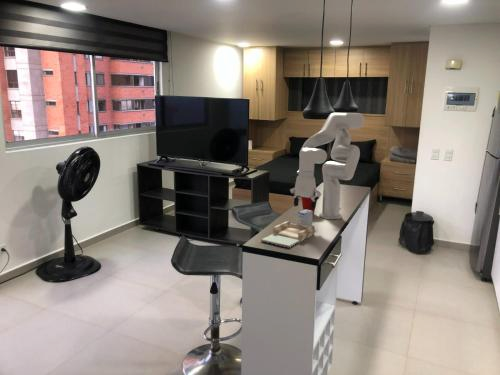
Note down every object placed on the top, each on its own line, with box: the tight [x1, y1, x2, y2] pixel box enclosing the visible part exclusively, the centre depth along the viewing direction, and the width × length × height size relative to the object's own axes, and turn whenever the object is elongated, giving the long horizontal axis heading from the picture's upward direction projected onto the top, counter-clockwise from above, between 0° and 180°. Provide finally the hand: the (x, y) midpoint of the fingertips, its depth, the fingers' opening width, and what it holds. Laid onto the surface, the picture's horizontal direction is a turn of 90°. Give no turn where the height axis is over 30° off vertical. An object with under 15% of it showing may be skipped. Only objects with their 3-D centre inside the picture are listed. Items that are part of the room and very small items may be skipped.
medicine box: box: [296, 209, 314, 227], centre depth 211 cm, size 8×4×9 cm, turn 141°
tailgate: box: [260, 233, 301, 249], centre depth 189 cm, size 1×15×11 cm
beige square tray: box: [272, 220, 316, 243], centre depth 198 cm, size 14×15×4 cm
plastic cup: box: [300, 194, 318, 216], centre depth 235 cm, size 11×11×12 cm
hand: (304, 207), depth 209 cm, fingers open, 9 cm apart
